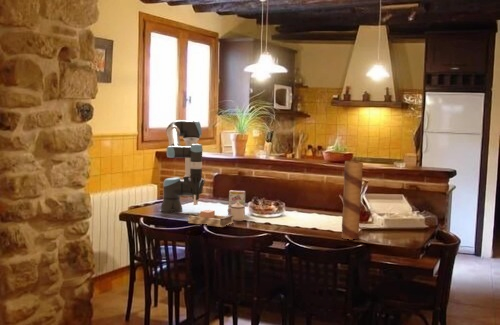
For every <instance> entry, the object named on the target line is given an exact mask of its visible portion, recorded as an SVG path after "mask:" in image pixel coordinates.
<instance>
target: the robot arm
mask: <svg viewBox="0 0 500 325" xmlns="http://www.w3.org/2000/svg"><path fill="white" fill-rule="evenodd" d="M166 136H167V138H168V146H167V147H166V157H167V158H172V159H173V158H175V159H176V158H177V159H178V158H179V159H181V158H182V159H183V158H184V159H185V162H184V163H185V164H184V165H185V166H184V167H185V172H184V173H185V174H184V176H183V177H182V179H181V177H179V176H178V177H177V176H175V177H169V178H168V177H167V178H165V179H164V180H163V185H162V186H163V196H162V197H163V198H162V199H163V200H162V203H161V206H160V211H161V212H162V211H163V213H180V212H182V211H183V206H182V202H181V197H192V200H193V206H197V205H199V204H198V202H199V199H200V195H201V194H203V193H202V192H203V189H204V184H205V182H206V179H204V178H203V176H202V174H203V151H204V150H203V144H201V143H200V144H199V143H198V141H199V140H200V138H201V137H202V126H201V122H200V121H199V120H194V119H191V120H187V119H186V120H185V119H182V120H181V119H178V120H174V121H172V122H170V124H169V125H168V126H167V127H166ZM180 137H182V140H184V144H185V145H183V146H182V145H181V139H180Z"/></svg>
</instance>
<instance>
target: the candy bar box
mask: <svg viewBox="0 0 500 325" xmlns="http://www.w3.org/2000/svg"><path fill="white" fill-rule="evenodd" d="M236 202H239V204H241V205H244V215H245V214H246V213H245V212H246V211H245V210H246V190H232V189H231V190H229V191H228V206H227V207H228V208H231V205H234V204H236ZM228 208H227V209H228ZM229 212H230V214H231V209H229ZM227 213H228V212H227ZM227 216H229V213H228V215H227Z"/></svg>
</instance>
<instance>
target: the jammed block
mask: <svg viewBox="0 0 500 325" xmlns="http://www.w3.org/2000/svg"><path fill="white" fill-rule="evenodd" d="M199 213H200V217H206V218H214V219H215V215H216V214H215V213H216V211H215V210H210V209H204V210H201V211H199Z"/></svg>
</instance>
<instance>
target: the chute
mask: <svg viewBox="0 0 500 325" xmlns="http://www.w3.org/2000/svg"><path fill="white" fill-rule="evenodd" d="M187 223H188V224H195V225H202V224H207V225H206V226H211V227H217V228H219V227H220V228H224V227H227V226H229V224H230V225H232V223H233V224H234V220H233V215H227V216H226V215H220V214H215V219H214V218H206V217H200V212H198V213H197V215H188V221H187ZM226 225H227V226H226Z"/></svg>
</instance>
